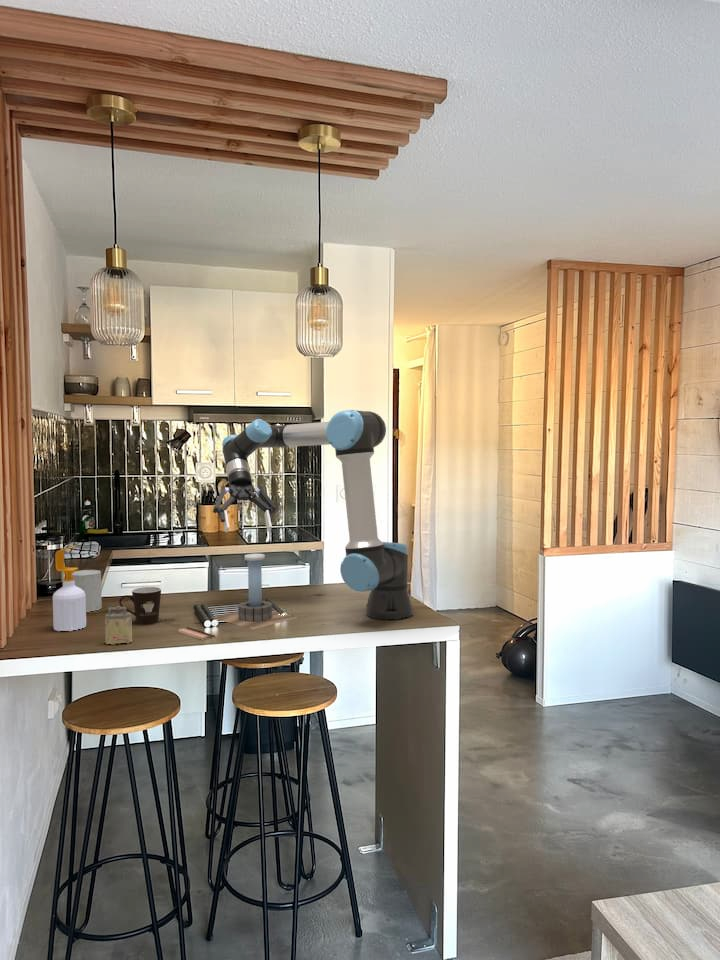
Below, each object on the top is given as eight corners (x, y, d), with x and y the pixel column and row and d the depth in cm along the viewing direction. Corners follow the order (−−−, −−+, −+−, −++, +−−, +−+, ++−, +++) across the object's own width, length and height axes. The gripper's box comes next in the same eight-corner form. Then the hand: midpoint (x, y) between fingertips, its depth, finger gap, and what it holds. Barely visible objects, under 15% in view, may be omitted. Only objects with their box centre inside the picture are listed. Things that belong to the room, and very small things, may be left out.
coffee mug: (165, 618, 220) (164, 586, 219) (156, 625, 211) (156, 593, 211) (128, 618, 220) (127, 586, 220) (118, 625, 212) (117, 592, 211)
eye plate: (299, 622, 215) (299, 604, 215) (252, 634, 202) (252, 615, 201) (257, 611, 228) (257, 594, 228) (211, 622, 215) (211, 604, 215)
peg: (269, 617, 215) (268, 555, 214) (253, 621, 211) (253, 557, 210) (256, 613, 219) (256, 552, 218) (241, 617, 215) (240, 555, 214)
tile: (237, 631, 205) (237, 628, 205) (202, 640, 196) (202, 637, 196) (212, 624, 213) (212, 621, 213) (178, 632, 204) (178, 629, 204)
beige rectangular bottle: (133, 640, 196) (132, 605, 196) (131, 644, 193) (130, 608, 192) (106, 641, 195) (105, 606, 194) (104, 645, 191) (103, 609, 191)
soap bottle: (76, 632, 204) (74, 548, 203) (47, 631, 205) (44, 548, 204) (92, 624, 213) (89, 543, 212) (63, 623, 214) (61, 543, 213)
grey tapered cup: (78, 605, 237) (77, 569, 236) (106, 606, 236) (105, 569, 236) (65, 612, 227) (64, 575, 226) (94, 613, 227) (93, 575, 226)
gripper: (272, 483, 240) (283, 535, 228) (199, 482, 230) (206, 536, 218) (278, 469, 235) (289, 522, 223) (203, 468, 224) (211, 523, 212)
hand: (248, 529), depth 220 cm, fingers open, 13 cm apart
